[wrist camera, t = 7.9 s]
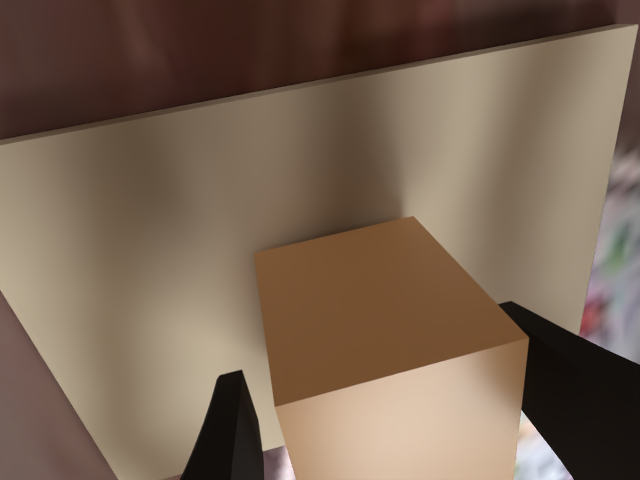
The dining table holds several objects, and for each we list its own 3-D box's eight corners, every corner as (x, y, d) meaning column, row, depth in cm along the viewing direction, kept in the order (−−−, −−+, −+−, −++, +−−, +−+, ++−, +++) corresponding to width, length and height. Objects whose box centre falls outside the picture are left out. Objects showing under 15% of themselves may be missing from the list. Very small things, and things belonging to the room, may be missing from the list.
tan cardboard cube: (413, 215, 14) (529, 337, 9) (419, 337, 16) (512, 488, 11) (253, 253, 13) (274, 407, 8) (285, 373, 16) (317, 549, 11)
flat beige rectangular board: (617, 23, 14) (906, 32, 8) (560, 353, 20) (693, 486, 15) (-62, 151, 11) (-346, 290, 6) (128, 471, 18) (86, 681, 12)
